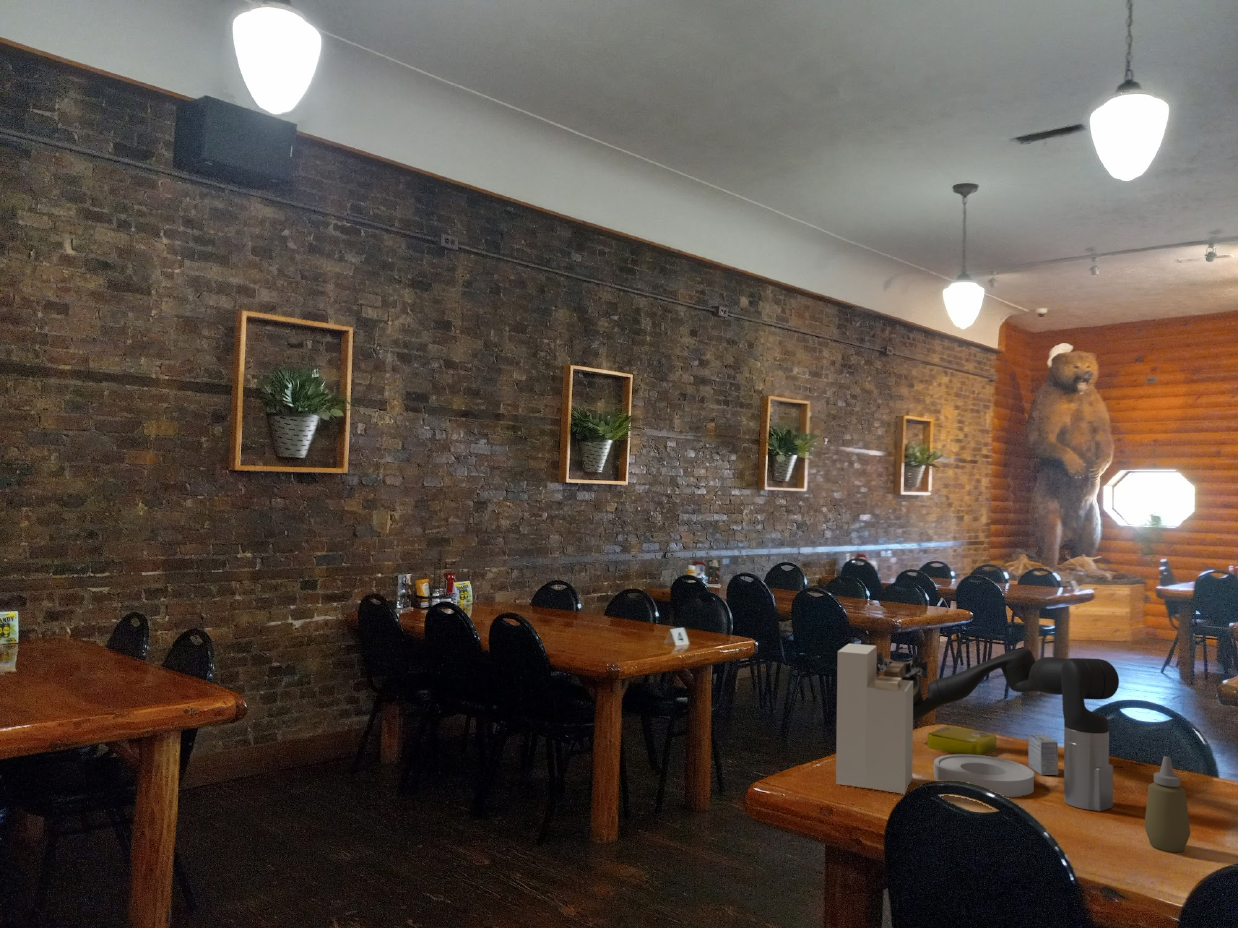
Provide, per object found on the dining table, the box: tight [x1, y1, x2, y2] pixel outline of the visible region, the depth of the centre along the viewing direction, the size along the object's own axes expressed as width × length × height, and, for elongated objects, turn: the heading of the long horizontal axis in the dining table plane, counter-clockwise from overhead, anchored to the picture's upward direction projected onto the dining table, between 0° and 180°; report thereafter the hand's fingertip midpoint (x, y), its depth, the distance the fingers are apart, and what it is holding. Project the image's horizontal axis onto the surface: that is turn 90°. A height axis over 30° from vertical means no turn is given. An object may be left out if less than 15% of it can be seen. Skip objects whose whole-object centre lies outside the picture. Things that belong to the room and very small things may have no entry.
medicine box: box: [1027, 733, 1059, 776], centre depth 237 cm, size 8×4×9 cm, turn 179°
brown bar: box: [875, 661, 906, 691], centre depth 229 cm, size 24×5×3 cm, turn 156°
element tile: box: [927, 725, 997, 756], centre depth 259 cm, size 15×15×5 cm
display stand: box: [835, 643, 914, 796], centre depth 226 cm, size 15×16×32 cm
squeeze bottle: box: [1143, 755, 1191, 853], centre depth 185 cm, size 8×8×18 cm
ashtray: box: [933, 754, 1035, 798], centre depth 227 cm, size 23×23×4 cm
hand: (896, 656), depth 241 cm, fingers open, 8 cm apart
